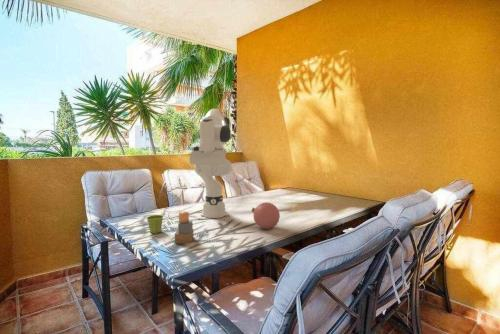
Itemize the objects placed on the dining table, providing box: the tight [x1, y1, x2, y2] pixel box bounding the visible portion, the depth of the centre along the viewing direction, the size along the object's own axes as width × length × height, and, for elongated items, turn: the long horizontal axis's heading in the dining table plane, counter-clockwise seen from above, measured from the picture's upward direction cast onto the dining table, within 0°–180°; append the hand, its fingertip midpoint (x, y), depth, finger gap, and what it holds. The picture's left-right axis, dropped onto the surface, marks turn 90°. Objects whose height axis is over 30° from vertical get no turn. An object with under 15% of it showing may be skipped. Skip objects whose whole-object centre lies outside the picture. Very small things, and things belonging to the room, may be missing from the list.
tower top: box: [177, 220, 194, 234], centre depth 151 cm, size 6×6×5 cm
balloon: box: [251, 202, 281, 230], centre depth 173 cm, size 15×20×15 cm
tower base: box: [174, 229, 194, 244], centre depth 152 cm, size 8×8×5 cm
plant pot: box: [146, 214, 164, 234], centre depth 167 cm, size 9×9×9 cm
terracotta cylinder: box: [178, 211, 190, 224], centre depth 151 cm, size 5×5×5 cm
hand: (208, 172), depth 164 cm, fingers open, 8 cm apart
